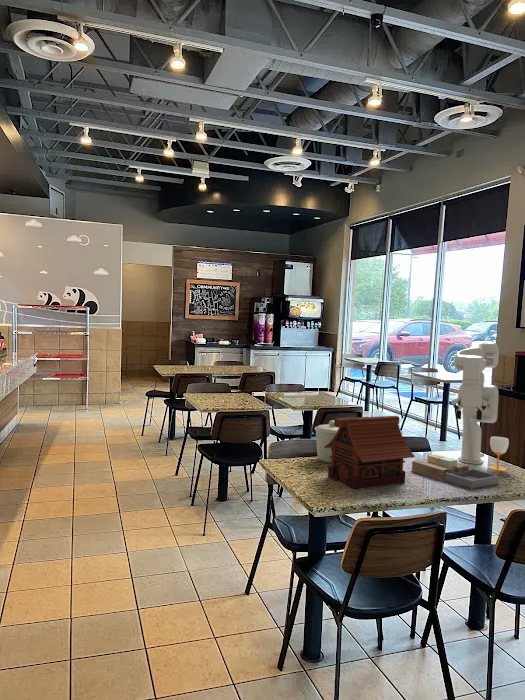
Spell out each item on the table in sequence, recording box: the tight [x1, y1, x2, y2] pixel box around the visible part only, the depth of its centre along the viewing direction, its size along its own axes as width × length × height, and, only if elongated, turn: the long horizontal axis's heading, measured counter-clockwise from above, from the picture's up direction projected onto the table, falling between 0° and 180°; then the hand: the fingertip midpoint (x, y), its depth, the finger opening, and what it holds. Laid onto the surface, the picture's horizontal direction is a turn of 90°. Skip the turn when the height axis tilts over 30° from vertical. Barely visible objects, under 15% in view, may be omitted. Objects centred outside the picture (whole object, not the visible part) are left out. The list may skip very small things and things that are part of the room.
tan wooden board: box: [411, 458, 470, 482], centre depth 254 cm, size 20×18×5 cm
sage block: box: [438, 456, 458, 467], centre depth 251 cm, size 6×6×3 cm
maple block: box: [427, 453, 446, 464], centre depth 256 cm, size 6×6×3 cm
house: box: [324, 415, 416, 490], centre depth 235 cm, size 35×28×29 cm
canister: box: [314, 419, 339, 464], centre depth 269 cm, size 18×18×21 cm
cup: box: [487, 435, 510, 472], centre depth 268 cm, size 9×9×16 cm
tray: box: [442, 468, 500, 491], centre depth 240 cm, size 20×15×4 cm
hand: (468, 419), depth 244 cm, fingers open, 9 cm apart
